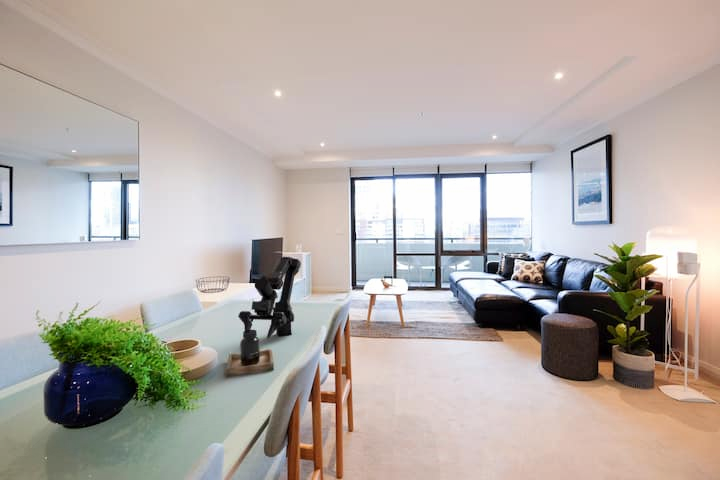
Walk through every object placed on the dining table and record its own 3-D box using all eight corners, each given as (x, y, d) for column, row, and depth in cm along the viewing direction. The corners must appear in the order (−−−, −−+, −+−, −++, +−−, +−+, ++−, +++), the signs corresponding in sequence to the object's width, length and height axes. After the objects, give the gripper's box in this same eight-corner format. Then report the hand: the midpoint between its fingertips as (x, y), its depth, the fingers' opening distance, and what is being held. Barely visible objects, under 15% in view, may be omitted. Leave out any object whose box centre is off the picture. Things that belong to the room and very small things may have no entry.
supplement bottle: (255, 367, 114) (254, 334, 114) (237, 366, 115) (236, 334, 114) (263, 359, 121) (262, 328, 120) (246, 358, 122) (245, 328, 121)
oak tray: (271, 354, 127) (271, 348, 127) (273, 369, 114) (273, 363, 114) (229, 360, 122) (229, 354, 122) (226, 377, 109) (225, 370, 109)
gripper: (239, 292, 128) (225, 327, 118) (283, 292, 126) (272, 329, 115) (249, 305, 136) (237, 339, 126) (290, 306, 134) (281, 341, 124)
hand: (256, 337), depth 123 cm, fingers open, 9 cm apart
